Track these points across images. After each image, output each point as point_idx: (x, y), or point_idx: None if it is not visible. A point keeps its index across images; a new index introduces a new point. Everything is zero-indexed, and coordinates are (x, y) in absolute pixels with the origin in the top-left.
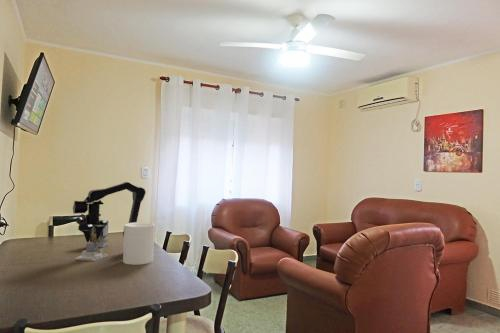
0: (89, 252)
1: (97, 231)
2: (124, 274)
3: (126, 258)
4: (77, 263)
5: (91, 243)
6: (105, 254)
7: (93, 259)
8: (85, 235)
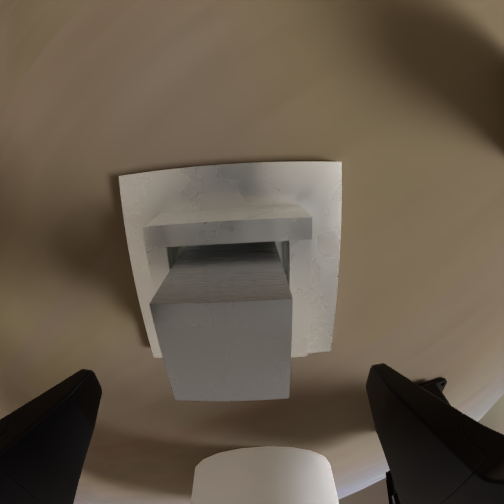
0: None
1: (431, 470)
2: (96, 471)
3: (194, 485)
4: (64, 267)
5: (181, 367)
6: (312, 344)
7: (150, 341)
8: (5, 435)
